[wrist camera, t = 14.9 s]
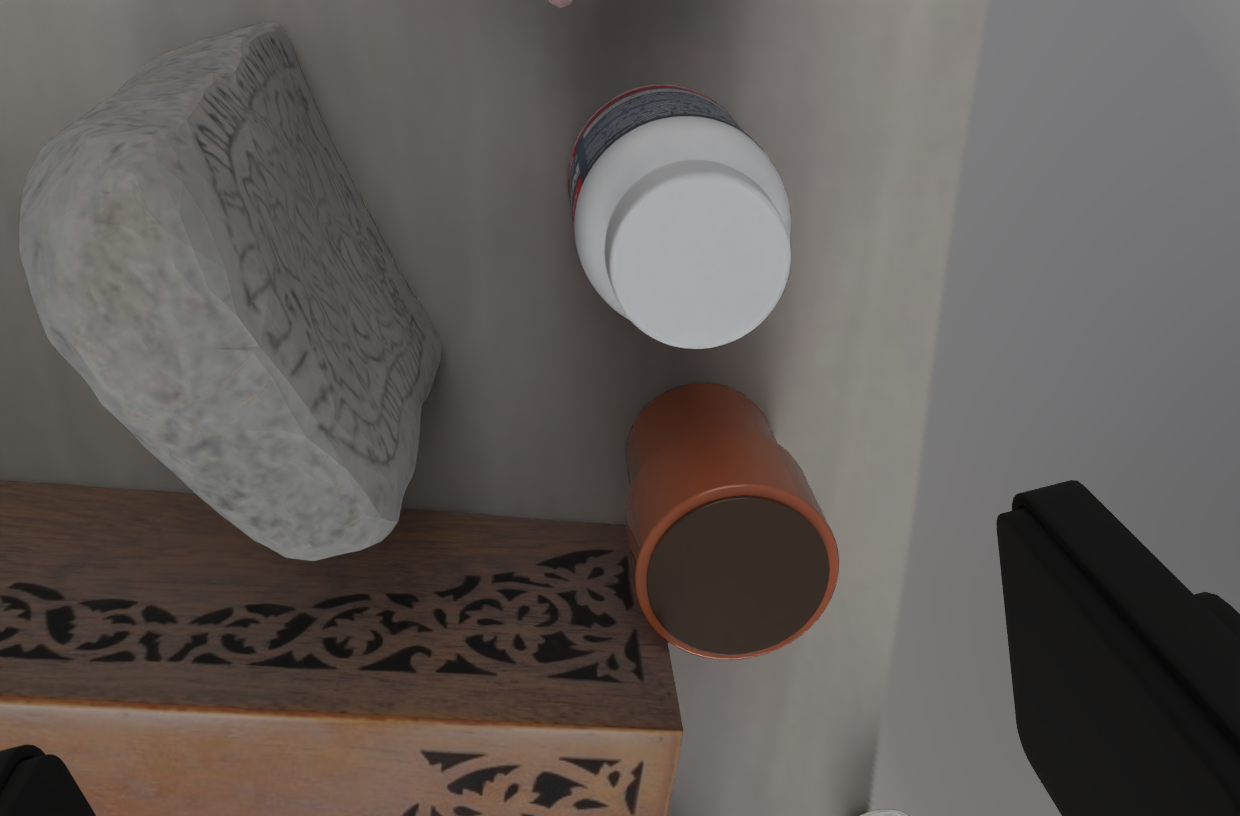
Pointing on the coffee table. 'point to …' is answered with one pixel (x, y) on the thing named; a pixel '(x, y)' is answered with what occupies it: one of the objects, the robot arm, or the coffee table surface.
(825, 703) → the coffee table surface
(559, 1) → the mug
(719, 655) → the orange cylinder
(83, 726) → the tissue box cover
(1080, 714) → the robot arm
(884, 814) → the decorative object set
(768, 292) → the pill bottle
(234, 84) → the decorative stone
